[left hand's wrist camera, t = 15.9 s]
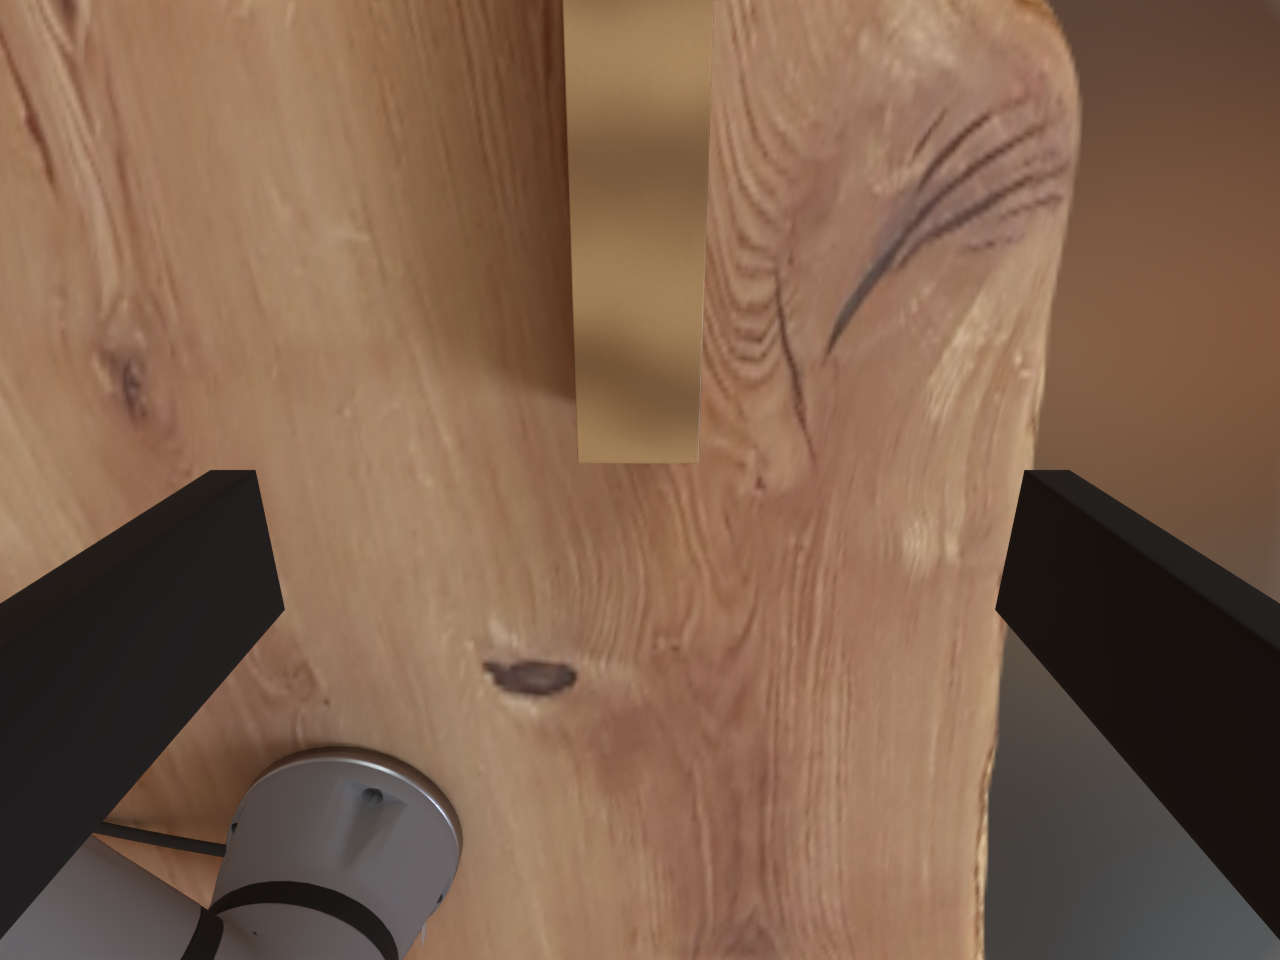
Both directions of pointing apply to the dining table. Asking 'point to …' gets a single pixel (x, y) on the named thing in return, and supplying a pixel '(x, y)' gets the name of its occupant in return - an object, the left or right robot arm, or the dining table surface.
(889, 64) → the dining table surface
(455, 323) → the dining table surface
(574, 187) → the post
